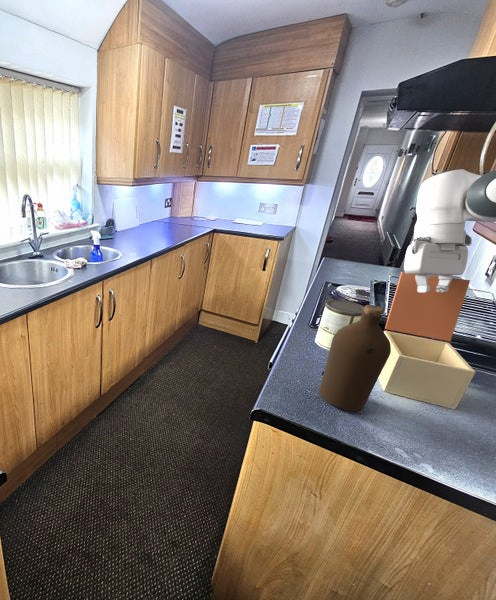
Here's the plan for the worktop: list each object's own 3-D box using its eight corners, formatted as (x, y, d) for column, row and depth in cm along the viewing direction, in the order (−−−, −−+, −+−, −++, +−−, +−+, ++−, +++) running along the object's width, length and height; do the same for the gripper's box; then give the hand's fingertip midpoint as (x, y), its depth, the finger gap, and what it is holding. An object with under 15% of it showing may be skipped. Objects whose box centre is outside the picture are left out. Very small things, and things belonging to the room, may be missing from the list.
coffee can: (317, 333, 113) (329, 296, 107) (354, 344, 106) (368, 305, 101) (311, 345, 106) (322, 306, 100) (349, 357, 100) (364, 316, 94)
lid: (470, 280, 84) (468, 280, 85) (402, 271, 90) (401, 271, 91) (450, 341, 86) (448, 340, 87) (385, 329, 92) (384, 328, 93)
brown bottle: (379, 410, 77) (420, 316, 67) (340, 416, 76) (376, 320, 66) (341, 382, 87) (372, 296, 77) (306, 387, 85) (333, 299, 75)
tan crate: (455, 409, 78) (475, 372, 74) (383, 391, 84) (399, 355, 80) (432, 376, 91) (449, 342, 87) (371, 362, 97) (384, 330, 93)
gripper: (431, 234, 76) (425, 293, 77) (475, 239, 83) (470, 293, 84) (397, 236, 82) (393, 291, 83) (442, 241, 89) (437, 292, 90)
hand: (432, 292), depth 84 cm, fingers open, 7 cm apart
